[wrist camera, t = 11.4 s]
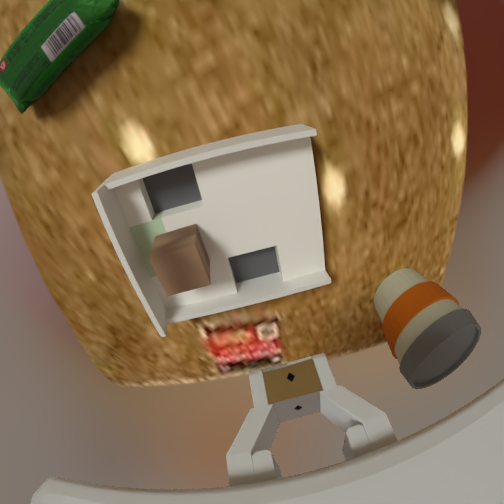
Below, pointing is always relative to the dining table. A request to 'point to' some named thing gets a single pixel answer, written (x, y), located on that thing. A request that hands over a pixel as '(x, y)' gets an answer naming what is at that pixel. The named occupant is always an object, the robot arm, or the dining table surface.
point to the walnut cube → (180, 260)
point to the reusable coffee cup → (424, 327)
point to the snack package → (51, 46)
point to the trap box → (222, 221)
